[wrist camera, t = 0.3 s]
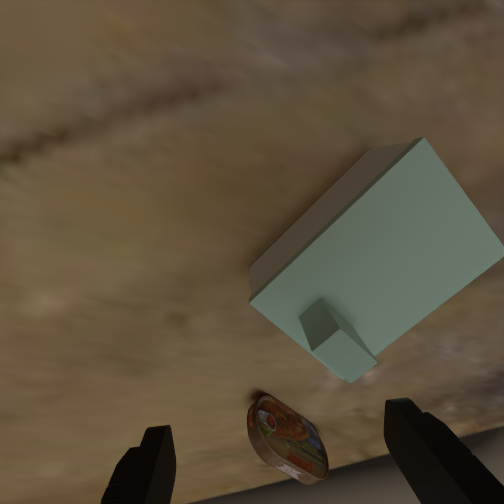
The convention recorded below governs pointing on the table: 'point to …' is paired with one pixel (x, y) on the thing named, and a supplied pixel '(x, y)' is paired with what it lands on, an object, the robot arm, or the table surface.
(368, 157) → the parts tub
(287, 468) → the tin
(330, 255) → the lid
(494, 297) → the table surface
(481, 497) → the robot arm
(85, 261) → the table surface
